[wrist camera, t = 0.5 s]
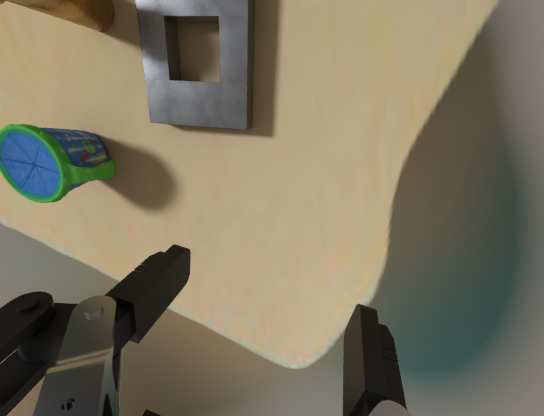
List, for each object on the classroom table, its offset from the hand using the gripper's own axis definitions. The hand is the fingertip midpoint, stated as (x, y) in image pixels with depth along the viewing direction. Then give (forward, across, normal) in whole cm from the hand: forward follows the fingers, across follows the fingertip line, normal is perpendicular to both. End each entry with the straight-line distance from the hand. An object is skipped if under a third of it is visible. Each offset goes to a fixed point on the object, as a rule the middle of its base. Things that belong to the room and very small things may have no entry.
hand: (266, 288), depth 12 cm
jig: (+28, +18, -9) cm, 34 cm away
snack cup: (+26, +37, +9) cm, 46 cm away
